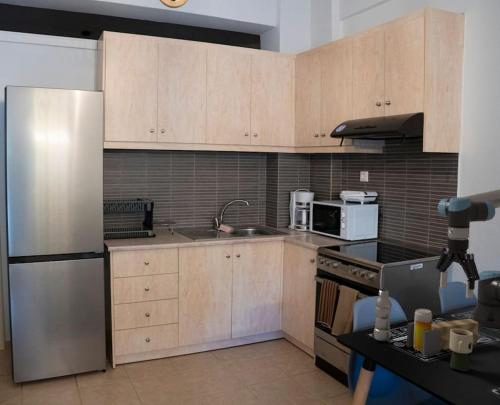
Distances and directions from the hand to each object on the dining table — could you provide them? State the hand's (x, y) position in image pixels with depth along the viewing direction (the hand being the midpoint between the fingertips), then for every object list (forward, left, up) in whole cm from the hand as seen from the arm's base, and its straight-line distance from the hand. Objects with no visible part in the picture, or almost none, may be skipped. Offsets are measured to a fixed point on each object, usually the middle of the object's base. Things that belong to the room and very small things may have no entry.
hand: (455, 292), depth 187 cm
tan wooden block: (+1, +1, -21) cm, 21 cm away
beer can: (+16, +1, -21) cm, 26 cm away
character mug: (+15, +19, -21) cm, 31 cm away
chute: (+15, +1, -20) cm, 25 cm away
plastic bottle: (+24, -12, -21) cm, 34 cm away
